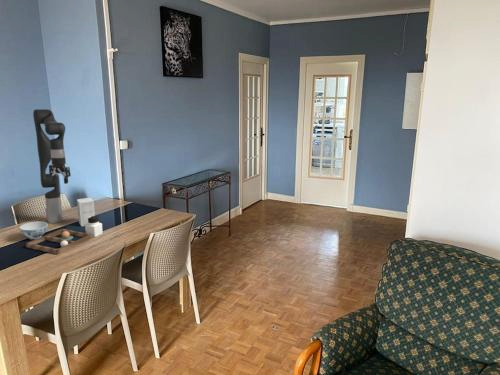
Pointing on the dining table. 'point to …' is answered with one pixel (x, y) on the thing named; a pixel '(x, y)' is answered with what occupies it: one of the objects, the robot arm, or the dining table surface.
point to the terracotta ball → (65, 234)
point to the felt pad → (67, 238)
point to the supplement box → (85, 210)
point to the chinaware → (34, 229)
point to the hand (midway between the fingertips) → (60, 182)
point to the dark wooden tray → (58, 241)
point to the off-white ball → (63, 243)
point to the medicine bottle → (94, 226)
